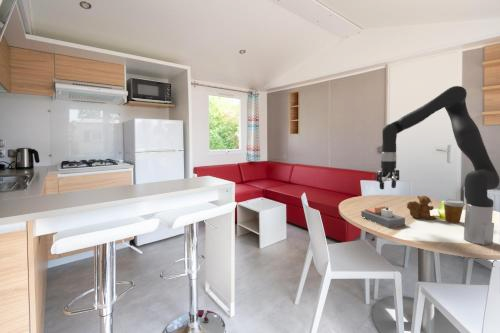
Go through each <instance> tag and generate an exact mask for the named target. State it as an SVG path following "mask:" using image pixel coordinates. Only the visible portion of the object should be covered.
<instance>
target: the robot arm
mask: <svg viewBox="0 0 500 333" xmlns="http://www.w3.org/2000/svg"><path fill="white" fill-rule="evenodd" d="M467 94H468V93H467V89H466V88H465V87H463V86H461V85H454V86H450V87H449V88H447V89H446V90H445V91H443V92H441V93H440V94H439V95H437V96H436V97H434V98H432V99H431V100H430V101H428V102H427V103H425V104H424V105H422V106H420V107H418V108H416V109H415V110H412V111H411V112H409V113H407V114H405V115H403V116H401V117H400V118H399V119H397V120H395V121H393V122H391V123H388V124H386V125H384V126H383V127H382V144H381V155H380V156H381V157H380V168H381V170H377V171H376V182H378V183H379V189H380V190H385V181H387V179H390V180H391V188H392V189H396V187H397V182H398V181H400V170H399V169H396V168H397V137H398V134H399V133H401V132H403V131H405V130H407V129H410V128H412V127H414V126H416V125H418V124H420V123H422V122H423V121H425V120H426V119H427V118H429V117H430V116H432V115H433V114H435V113H436V112H438V111H440V110H442V109H443V108H444V109H445V110H446V113H447V114H448V117H449V119H450V123H451V128H452V132H453V135H454V139H455V142H456V145H457V147H458V148H459V150H460V151H461V152H462V154H464V155H465V157H467V158H468V159H469V161H470V162H471V164H472V166H473V168H474V170H471V171H469V172H467V174H466V175H465V178H464V189H463V190H464V193H463V194H464V195H463V196H464V197H465V198H464V199H465V213H464V227H463V240H465V241H467V242H469V243H473V244H478V245H482V246H487V245H490V244H493V242H494V241H493V240H494V230H495V223H494V222H493V213H494V200H493V199H492V198H489V196H488V191H491V190H494V189H497V188H498V187H499V185H500V176H499V173H498V171H497V170H496V167H495V165H494V164H493V163H492V160H491V159H490V156H489V154H488V151H487V149H486V146H485V143H484V140H483V137H482V135H481V132H480V130H479V127H478V126H477V123H476V122H475V121H474V120H473V118H472V117H471V116H470V113H469V110H468V108H467V104H466V99H467Z"/></svg>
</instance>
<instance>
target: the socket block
mask: <svg viewBox="0 0 500 333" xmlns="http://www.w3.org/2000/svg"><path fill="white" fill-rule="evenodd" d="M360 216H362V217H365V218H367V219H369V220H368V221H370V220H371V221H370V222H372V221H374V222H373V223H375V222H376V224H377V223H378V225H380V224H381V225H380V226H383V227H385V228H388V229H389V228H395V227H400V226H405V225H406V217H403V216H400V215H398V214H394V213H392V217H390V218H386V217H383V216H381V213H376V214H375V213H372V212H369V211H366V210H365V209H364V210H361V214H360ZM362 217H361V218H362ZM365 218H364V219H365ZM367 219H366V220H367Z"/></svg>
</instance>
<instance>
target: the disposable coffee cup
mask: <svg viewBox="0 0 500 333" xmlns="http://www.w3.org/2000/svg"><path fill="white" fill-rule="evenodd" d="M442 204H443V206H444V207H443V209H444V216H445V217H444V219H445V222H447V223H451V224H460V222H461V218H462V214H463V209H464V206H466V203H465V202H464V201H463V200H459V199H450V198H449V199H448V198H447V199H444V200H443V201H442Z"/></svg>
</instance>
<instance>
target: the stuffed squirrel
mask: <svg viewBox="0 0 500 333" xmlns="http://www.w3.org/2000/svg"><path fill="white" fill-rule="evenodd" d="M417 199H418V201H419V202H417V201H409V202H407V203H406V208H407V209H408V210H409V216H410V217H413V218H414V219H422V220H436V219H437V217H436V216H435V215H431V212H430V211H433V210H434V209H435V208H434V206H433V205H431V206H430V205H429V204H430V203H433V202H432V200H431V198H430V197H428V196H426V195H421V196H419V195H417Z"/></svg>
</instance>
